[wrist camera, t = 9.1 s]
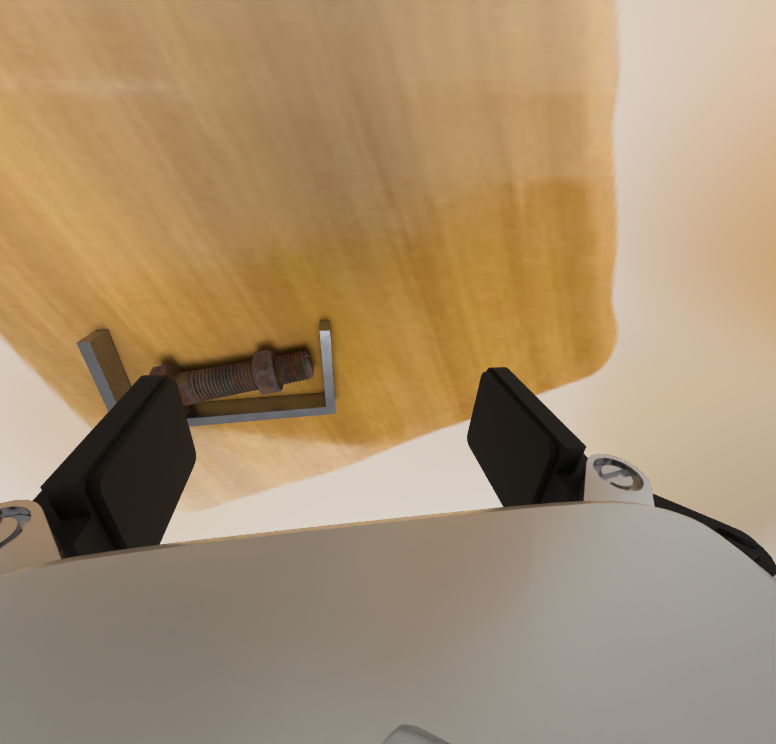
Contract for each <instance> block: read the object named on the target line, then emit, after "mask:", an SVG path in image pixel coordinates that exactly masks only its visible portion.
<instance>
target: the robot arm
mask: <svg viewBox="0 0 776 744" xmlns="http://www.w3.org/2000/svg"><path fill="white" fill-rule="evenodd" d="M467 441H468V445H469V447H470V448H471V450H472V452H473V454H474V456H475V457H476V459H477V461H478V463H479V464H480V466H481V468H482V470H483V471H484V473H485V475H486V477H487V478H488V480H489V482H490V484H491V486H492V487H493V489H494V491H495V493H496V495H497V496H498V498H499V499H500V502H501V503H502V505H503V507H501V508H492V509H481V510H472V511H461V512H452V513H441V514H432V515H422V516H413V517H403V518H394V519H384V520H376V521H366V522H356V523H348V524H338V525H328V526H319V527H310V528H301V529H292V530H283V531H274V532H266V533H256V534H247V535H238V536H230V537H221V538H212V539H203V540H195V541H186V542H178V543H170V544H161V545H159V544H160V542H161V540H162V538H163V535H164V533H165V531H166V528H167V526H168V524H169V521H170V519H171V517H172V515H173V512H174V510H175V508H176V506H177V503H178V501H179V499H180V496H181V494H182V492H183V490H184V487H185V485H186V483H187V481H188V478H189V476H190V474H191V471H192V469H193V467H194V464H195V461H196V451H195V447H194V444H193V440H192V436H191V432H190V429H189V425H188V421H187V418H186V414H185V410H184V406H183V403H182V399H181V395H180V392H179V388H178V384H177V382H176V381H175V380H170V378H169V377H168V376H167V375H144V376H141V377H140V378H139V379H138V380H137V381H136V382H135V384H134V385H133V386H132V387H131V388H130V389H129V390H128V391H127V392H126V393H125V395H124V396H123V397H122V398H121V399H120V400H119V401H118V402H117V403H116V404H115V406H114V407H113V408H112V409H111V410H110V411H109V412H108V413H107V414H106V415H105V417H104V418H103V419H102V420H101V421H100V422H99V423H98V424H97V425H96V426H95V428H94V429H93V430H92V431H91V432H90V433H89V434H88V435H87V436H86V437H85V439H84V440H83V441H82V442H81V443H80V444H79V445H78V446H77V447H76V448H75V450H74V451H73V452H72V453H71V454H70V455H69V456H68V457H67V458H66V460H65V461H64V462H63V463H62V464H61V465H60V466H59V467H58V469H56V470H55V472H54V473H53V474H52V475H51V476H50V477H49V478H48V479H47V480H46V481H45V483H44V484H43V485H42V486H41V489H42V491H41V492H40V493H39V494H38V495H37V497H36V498H35V499H34V500H33V501H30V500H14V501H9V502H5V503H0V744H776V565H775V563H774V561H773V560H772V557H771V556H770V555H769V554H768V553H767V552H766V551H765V550H764V548H762V547H761V546H760V545H759V544H757V542H756V541H755V540H754V539H752V538H751V537H750V536H749V535H747V534H746V533H744V532H742V531H740V530H738V529H736V528H733V527H731V526H729V525H726V524H724V523H722V522H719V521H717V520H714V519H712V518H710V517H707V516H705V515H703V514H700V513H698V512H695V511H693V510H691V509H688V508H686V507H683V506H681V505H679V504H676V503H674V502H672V501H669V500H667V499H664V498H662V497H660V496H657V495H655V494H652V488H651V485H650V482H649V479H648V478H647V477H646V476H645V475H644V473H643V472H641V471H640V470H639V469H638V468H637V467H635V466H634V465H632V464H630V463H629V462H627V461H625V460H622V459H620V458H618V457H615V456H611V455H606V454H595V455H592V456H590V457H589V458H587V457H586V456H585V454H584V451H585V448H586V446H585V445H584V444H583V443H582V442H581V441H580V440H579V439H578V438H577V437H576V436H575V435H574V434H573V433H572V432H571V431H570V430H569V429H568V428H567V427H566V426H565V425H564V424H563V423H562V422H561V421H560V420H559V419H558V418H557V417H556V416H555V415H554V414H553V413H552V412H551V411H550V410H549V409H548V408H547V407H546V406H545V405H544V404H543V403H542V402H541V401H540V400H539V399H538V398H537V397H536V396H535V395H534V394H533V393H532V392H531V391H530V390H529V389H528V388H527V387H526V386H525V385H524V384H523V383H522V382H521V381H520V380H519V379H518V378H517V377H516V376H515V375H514V374H513V373H512V372H511V371H510V370H509V369H508V368H506V367H499V368H488V369H487V371H486V372H484V373H483V374H482V376H481V379H480V383H479V388H478V392H477V396H476V400H475V405H474V409H473V413H472V417H471V422H470V426H469V430H468V435H467Z"/></svg>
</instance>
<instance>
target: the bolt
mask: <svg viewBox="0 0 776 744" xmlns="http://www.w3.org/2000/svg"><path fill="white" fill-rule="evenodd" d="M313 371H314V370H313V366H312V363H311V359H310V355H309V352H307V351H305V350H304V352H303V351H302V350H301V352H299V351H298V352H296V351H295V353H293V352H292V353H291V354H290V353H288V355H287V354H286V353H285V355H283V354H282V355H281V356H280V355H279V356H277V355H276V353H275V352H274V351H273V350H264V351H259V352H255V353H254V355H253V358H252V361H251V360H249V361H245V362H244V361H243V362H242V363H241V362H239V363H235V364H228V365H225V366H224V365H222V366H218V367H212V368H208V369H207V368H206V369H201V370H196V371H185V372H182V371H181V369H180V367H179V366H170V365H163V366H158V367H153V369H152V370H151V372H150V374H149V375H167V376H168V377H169V378H170V380H175V381H176V382H177V384H178V388H179V392H180V395H181V399H182V403H183V406H184V410H185V414H188V413H190V405H191V404H196V403H199V402H201V401H205V400H209V399H215V398H219V397H226V396H230V395H235V394H239V393H243V392H244V393H245V392H249V391H252V390H254V391H255V390H260V392H261V393H262V394H268V393H273V392H278V391H281V390H282V389H283V384H285V383H286V384H288V382H289V383H291V382H293V383H294V382H295V381H296V382H297V381H298V380H299V381H301V380H303V381H304V379H305V380H307V378H308V379H310V378H312V377H313V376H314V374H313Z"/></svg>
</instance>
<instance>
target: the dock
mask: <svg viewBox="0 0 776 744" xmlns="http://www.w3.org/2000/svg"><path fill="white" fill-rule="evenodd" d="M320 341H321V353H322V365H323V376H324V388H325V393H315V394H302V395H289V396H277V397H264V398H251V399H238V400H225V401H212V402H199V403H196V404H191V405H190V413H188V414H186V418H187V421H188V425H189V426H200V425H211V424H223V423H234V422H246V421H257V420H268V419H280V418H291V417H303V416H314V415H325V414H336V410H335V396H334V381H333V367H332V353H331V338H330V324H329V320H320ZM77 345H78V347H79V349H80V351H81V353H82V355H83V358H84V360H85V362H86V364H87V366H88V368H89V371H90V373H91V375H92V377H93V379H94V381H95V383H96V386H97V388H98V390H99V392H100V394H101V396H102V399H103V401H104V403H105V405H106V407H107V409H108V411H110V410H111V409H112V408H113V407H114V406H115V404H116V403H117V402H118V401H119V400H120V399H121V398H122V397H123V396H124V395H125V393H126V392H127V391H128V390H129V389H130V388H131V385H130V383H129V380H128V378H127V375H126V373H125V371H124V368H123V366H122V363H121V361H120V358H119V356H118V353H117V351H116V348H115V346H114V344H113V341H112V339H111V336H110V334H109V331H108V330H96V331H94V332H92V333H91V334H89V335H88V336H86V337H85V338H83V339H82V340H80V341H79V342H77Z"/></svg>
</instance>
